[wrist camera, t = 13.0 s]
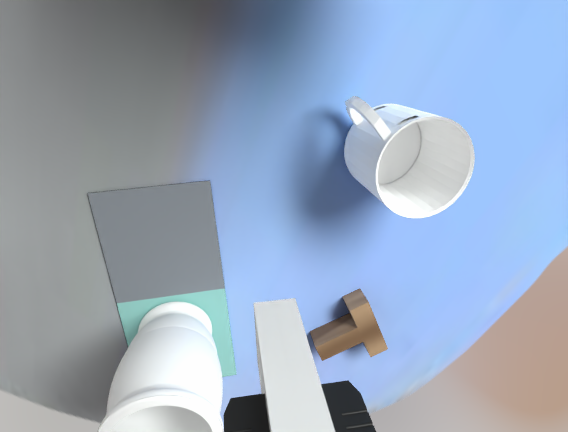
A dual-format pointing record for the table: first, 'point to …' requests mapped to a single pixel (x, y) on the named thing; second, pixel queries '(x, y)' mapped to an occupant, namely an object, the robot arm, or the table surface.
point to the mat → (164, 255)
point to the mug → (408, 157)
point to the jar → (168, 375)
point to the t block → (350, 329)
